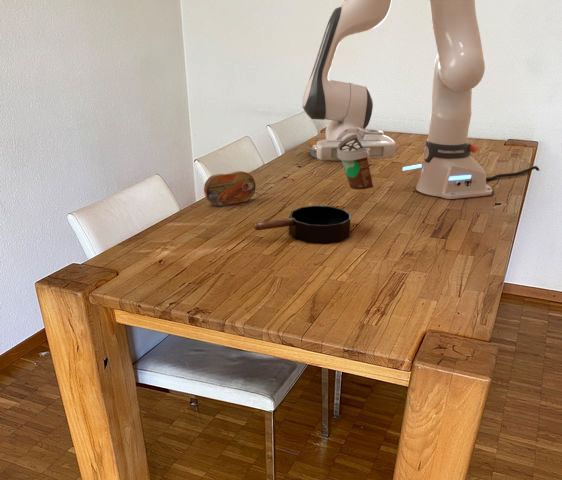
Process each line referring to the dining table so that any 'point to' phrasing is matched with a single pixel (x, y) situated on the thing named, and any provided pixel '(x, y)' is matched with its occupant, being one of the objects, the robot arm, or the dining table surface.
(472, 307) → the dining table surface
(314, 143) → the pie
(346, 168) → the food container
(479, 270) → the dining table surface
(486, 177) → the robot arm
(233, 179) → the tin
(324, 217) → the pan
